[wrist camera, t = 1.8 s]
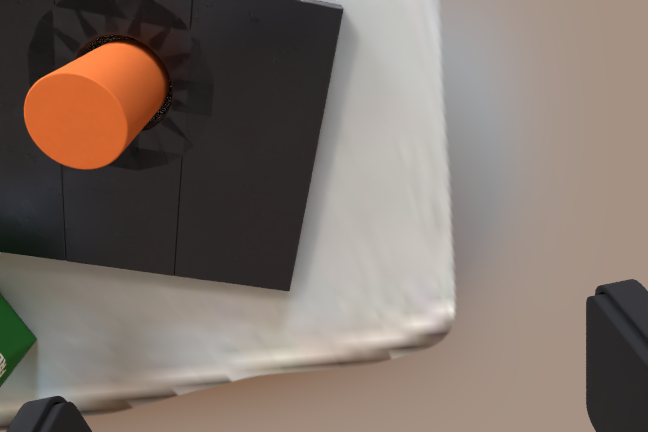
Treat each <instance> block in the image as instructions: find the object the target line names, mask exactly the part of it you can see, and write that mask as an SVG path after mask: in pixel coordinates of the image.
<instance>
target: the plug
mask: <svg viewBox="0 0 648 432" xmlns="http://www.w3.org/2000/svg"><path fill="white" fill-rule="evenodd" d="M169 88H170V80H169V75H168V72H167V69H166V66H165V65H164V63H163V62H162V61H161V60H160V58H159V57H158V56H157V55H156V54H155V52H154V51H153V50H152V49H151V48H149V47H148V46H146V45H144V44H143V43H140V42H138V41H134V40H130V39H118V40H113V41H110V42H108V43H106V44H104V45H102V46H100V47H98V48H96V49H95V50H93V51H91V52H89V53H87V54H85V55H83V56H82V57H80V58H78V59H76V60H74V61H72V62H70V63H68V64H67V65H65V66H63V67H61V68H59V69H57V70H55V71H54V72H52V73H50V74H48V75H46V76H44V77H42V78H41V79H39V80H38V81H37V82H36V83H35V84H34V85H33V86H32V87H31V89H30V90H29V92H28V94H27V96H26V99H25V104H24V119H25V123H26V127H27V129H28V132H29V134H30V136H31V137H32V139H33V141H34V142H35V143H36V145H37V146H38V147H39V148H40V149H41V150H42V151H43V152H44V153H45V154H46V155H47V156H49V157H50V158H52V159H53V160H55V161H57V162H58V163H60V164H63V165H65V166H68V167H71V168H76V169H84V170H86V169H97V168H101V167H104V166H106V165H108V164H110V163H112V162H113V161H114V160H116V159H117V158H118V157H119V156H120V154H121V153H122V152H123V151H124V150H125V149H126V147H127V146H128V145H129V144H130V143H131V142H132V140H133V139H134V138H135V137H136V136H137V135H138V133H139V132H140V131H141V130H142V129H143V128H144V126H145V125H146V124H147V123H148V122H149V121H150V119H151V118H152V117H153V116H154V115H155V114H156V112H157V111H158V110H159V109H160V108H161V107H162V105H163V104H164V103H165V101H166V99H167V97H168V94H169Z"/></svg>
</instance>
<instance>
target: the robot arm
mask: <svg viewBox="0 0 648 432" xmlns="http://www.w3.org/2000/svg"><path fill="white" fill-rule="evenodd" d="M586 405H587V411H588V415H589V418H590V420H591V423H592V425H593V427H594V429H595V430H596V432H648V291H647V290H646V289H645V288H644V287H643V286H642V285H641V284H640V283H639V282H638V281H636V280H634V279H630V280H626V281H620V282H615V283H611V284H605V285H601V286H598V287H597V289H596V293H595V296H590V297H588V298H587V302H586ZM6 432H92V431H91V429H90V428H89V426H88V425H87V423H86V421H85V420H84V418H83V417H82V415H81V414H80V412H79V411H78V409H77V407H76V406H75V405H74V404H73V403H71V402H67V401H66V400H65V399H64V398H63V397H61V396H54V397H49V398H44V399H39V400H34V401H29V402H27V403H25V404H24V405H23V406H22V407H21V408H20V410H19V411H18V413H17V415H16V416H15V418H14V420H13V421H12V423H11V425H10V426H9V428H8V430H7V431H6Z"/></svg>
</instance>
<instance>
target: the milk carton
mask: <svg viewBox="0 0 648 432" xmlns="http://www.w3.org/2000/svg"><path fill="white" fill-rule="evenodd" d="M36 340H37V339H36V337H35V336H34V335H33V334H32V332H31V331H30V330H29V329H28V327H27V326H26V325H25V324H24V322H23V321H22V320H21V319H20V317H19V316H18V315H17V314H16V312H15V311H14V310H13V309H12V307H11V306H10V305H9V304H8V302H7V301H6V300H5V299H4V297H3V296H2V295H1V294H0V387H1V385H2V384H3V383H4V382H5V380H6V379H7V378H8V376H9V375H10V374H11V372H12V371H13V370H14V368H15V367H16V366H17V365H18V363H19V362H20V361H21V359H22V358H23V357H24V355H25V354H26V353H27V351H28V350H29V349H30V348H31V346H32V345H33V344H34V342H35V341H36Z"/></svg>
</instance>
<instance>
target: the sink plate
mask: <svg viewBox="0 0 648 432" xmlns="http://www.w3.org/2000/svg"><path fill="white" fill-rule="evenodd" d="M342 14H343V8H342V6H341V5H338V4H333V3H328V2H323V1H317V0H0V252H5V253H13V254H20V255H27V256H35V257H42V258H49V259H57V260H64V261H65V260H66V261H69V262H77V263H84V264H91V265H99V266H106V267H113V268H121V269H128V270H135V271H143V272H150V273H157V274H165V275H172V276H180V277H188V278H195V279H202V280H210V281H217V282H224V283H232V284H239V285H246V286H253V287H261V288H268V289H275V290H283V291H290V286H291V281H292V276H293V270H294V265H295V260H296V255H297V249H298V244H299V239H300V234H301V229H302V223H303V218H304V213H305V208H306V202H307V197H308V192H309V187H310V181H311V176H312V171H313V166H314V160H315V155H316V150H317V145H318V140H319V134H320V129H321V124H322V119H323V113H324V108H325V103H326V98H327V92H328V87H329V82H330V77H331V71H332V66H333V61H334V56H335V51H336V45H337V40H338V35H339V30H340V24H341V19H342ZM113 34H114V35H120V36H125V37H131V38H134V39H136V40H138V41H139V42H141V43H143V44H144V45H146V46H148V47H149V48H151V49H152V50H153V51H154V52H155V54H156V55H157V56H158V57H159V58H160V60H161V61H162V62H163V63H164V65H165V66H166V69H167V72H168V75H169V78H170V81H171V83H172V94H171V104H170V106H169V108H168V110H167V111H166V113H165V114H164V115H163V116H161V117H160V118H159V119H157V120H156V121H153V122H148V123H147V124H146V125H145V126H144V128H143V129H142V130H141V131H140V132H139V133H138V135H137V136H136V137H135V138H134V139H133V140H132V142H131V143H130V144H129V145H128V146H127V147H126V149H125V150H124V151H123V152H122V153H121V154H120V156H119V157H118V158H117V159H116V160H114V161H113V162H112V163H110V164H108V165H106V166H104V167H101V168H97V169H86V170H84V169H76V168H71V167H68V166H65V165H63V164H60V163H58V162H57V161H55V160H53V159H52V158H50V157H49V156H47V155H46V154H45V153H44V152H43V151H42V150H41V149H40V148H39V147H38V146H37V145H36V143H35V142H34V141H33V139H32V137H31V136H30V134H29V132H28V129H27V127H26V123H25V119H24V104H25V99H26V96H27V94H28V92H29V90H30V89H31V87H32V86H33V85H34V84H35V83H36V82H37V81H38V80H39V79H41V78H42V77H44V76H46V75H48V74H50V73H52V72H54V71H55V70H57V69H59V68H61V67H63V66H65V65H67V64H68V63H70V62H72V61H74V60H76V59H78V58H80V57H82V56H83V55H85V54H86V53H87V51H88V48H89V46H90V45H91V44H92V43H93V42H95V41H96V40H97V39H98V38H100V37H104V36H108V35H113Z"/></svg>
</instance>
